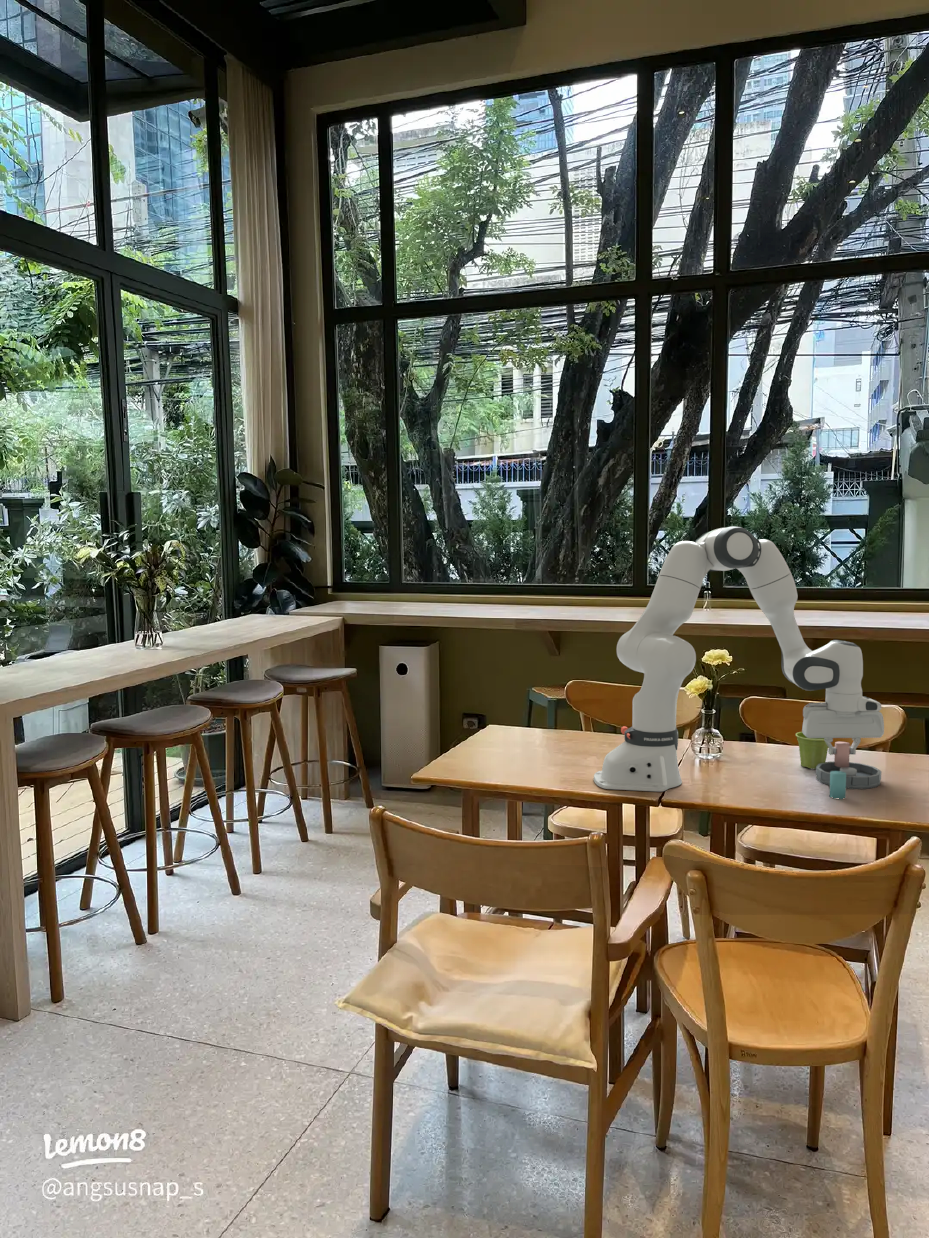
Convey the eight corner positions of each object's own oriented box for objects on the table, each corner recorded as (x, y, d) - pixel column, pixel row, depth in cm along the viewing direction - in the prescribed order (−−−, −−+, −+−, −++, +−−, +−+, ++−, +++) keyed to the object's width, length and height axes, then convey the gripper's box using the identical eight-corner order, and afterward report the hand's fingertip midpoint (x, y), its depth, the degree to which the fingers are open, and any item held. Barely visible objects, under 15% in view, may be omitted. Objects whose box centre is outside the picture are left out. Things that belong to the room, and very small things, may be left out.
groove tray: (829, 789, 228) (829, 777, 228) (807, 772, 243) (808, 761, 243) (890, 788, 227) (891, 777, 227) (865, 772, 243) (865, 761, 242)
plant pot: (826, 762, 253) (827, 731, 252) (835, 771, 244) (836, 739, 243) (791, 761, 255) (792, 731, 254) (799, 770, 245) (799, 738, 244)
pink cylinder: (837, 767, 238) (838, 745, 237) (832, 763, 241) (832, 741, 241) (851, 767, 238) (852, 744, 237) (845, 763, 241) (846, 741, 240)
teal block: (832, 799, 220) (833, 774, 219) (827, 794, 223) (827, 770, 223) (847, 799, 220) (848, 774, 219) (842, 794, 223) (842, 770, 223)
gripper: (807, 704, 235) (806, 757, 236) (887, 704, 234) (885, 756, 236) (799, 700, 241) (797, 751, 242) (877, 699, 241) (875, 750, 242)
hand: (841, 754), depth 239 cm, fingers closed on pink cylinder, 4 cm apart
